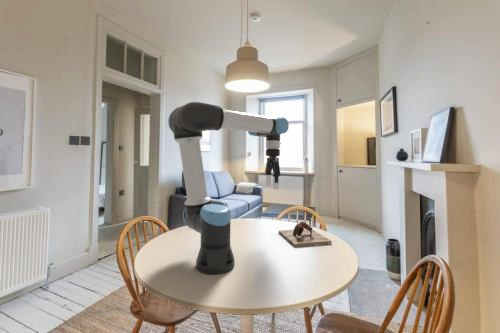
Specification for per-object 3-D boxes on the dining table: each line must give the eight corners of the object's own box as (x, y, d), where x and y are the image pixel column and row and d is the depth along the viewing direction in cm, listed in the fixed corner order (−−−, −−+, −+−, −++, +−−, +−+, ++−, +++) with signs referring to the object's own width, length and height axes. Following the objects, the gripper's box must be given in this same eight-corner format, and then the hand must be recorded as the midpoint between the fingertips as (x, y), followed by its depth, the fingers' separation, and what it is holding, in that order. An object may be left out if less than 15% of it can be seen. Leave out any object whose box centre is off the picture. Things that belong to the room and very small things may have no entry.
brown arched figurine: (293, 232, 134) (301, 220, 134) (308, 242, 130) (316, 229, 130) (287, 232, 124) (296, 219, 124) (303, 243, 119) (311, 229, 119)
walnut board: (331, 243, 119) (331, 240, 119) (294, 246, 115) (294, 243, 115) (310, 230, 141) (310, 228, 141) (278, 233, 136) (278, 230, 136)
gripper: (287, 147, 118) (286, 190, 118) (272, 150, 142) (271, 185, 142) (272, 147, 116) (271, 190, 117) (260, 149, 141) (259, 185, 141)
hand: (271, 187), depth 129 cm, fingers open, 13 cm apart
